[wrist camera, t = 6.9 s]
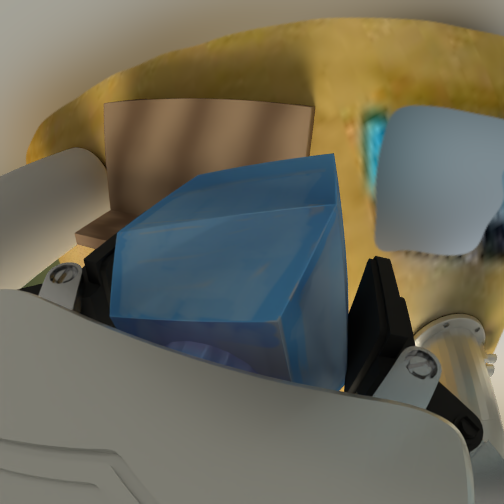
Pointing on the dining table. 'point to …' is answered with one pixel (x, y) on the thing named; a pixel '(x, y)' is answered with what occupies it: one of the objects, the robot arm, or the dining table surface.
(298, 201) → the perfume bottle
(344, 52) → the dining table surface
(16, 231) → the cylinder vase
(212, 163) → the brown wooden bench
